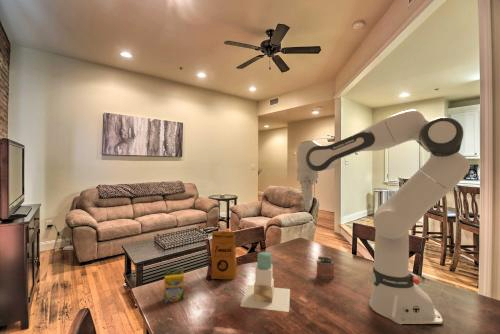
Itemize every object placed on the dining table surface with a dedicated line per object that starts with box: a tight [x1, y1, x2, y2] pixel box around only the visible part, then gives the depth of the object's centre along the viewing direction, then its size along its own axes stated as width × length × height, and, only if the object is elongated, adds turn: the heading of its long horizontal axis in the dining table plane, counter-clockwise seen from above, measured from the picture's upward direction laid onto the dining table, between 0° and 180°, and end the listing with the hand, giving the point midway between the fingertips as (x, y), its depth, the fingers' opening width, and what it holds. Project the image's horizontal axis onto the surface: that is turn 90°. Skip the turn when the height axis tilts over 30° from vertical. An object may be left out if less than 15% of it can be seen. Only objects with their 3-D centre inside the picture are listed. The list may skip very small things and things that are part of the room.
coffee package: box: [210, 230, 238, 281], centre depth 114 cm, size 10×12×22 cm
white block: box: [255, 263, 274, 286], centre depth 96 cm, size 6×6×6 cm
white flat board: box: [239, 284, 291, 313], centre depth 96 cm, size 18×16×1 cm
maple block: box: [253, 278, 275, 303], centre depth 96 cm, size 7×7×6 cm
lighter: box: [316, 255, 335, 280], centre depth 114 cm, size 8×3×10 cm, turn 84°
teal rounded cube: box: [256, 251, 272, 270], centre depth 96 cm, size 6×6×5 cm
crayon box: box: [163, 268, 185, 303], centre depth 96 cm, size 7×3×12 cm, turn 105°
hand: (306, 207), depth 110 cm, fingers open, 8 cm apart
